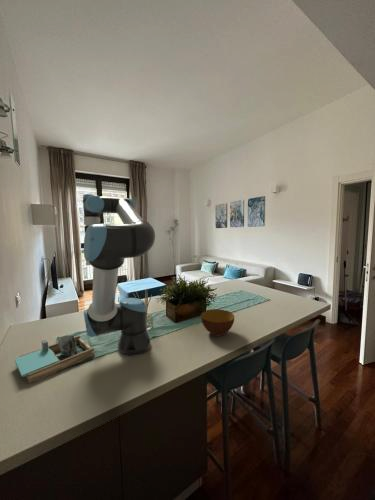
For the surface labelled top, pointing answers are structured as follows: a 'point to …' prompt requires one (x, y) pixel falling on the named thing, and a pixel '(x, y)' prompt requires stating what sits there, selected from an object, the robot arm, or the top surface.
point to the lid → (36, 360)
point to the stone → (67, 345)
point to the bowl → (217, 321)
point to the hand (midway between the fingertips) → (94, 266)
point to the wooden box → (62, 363)
